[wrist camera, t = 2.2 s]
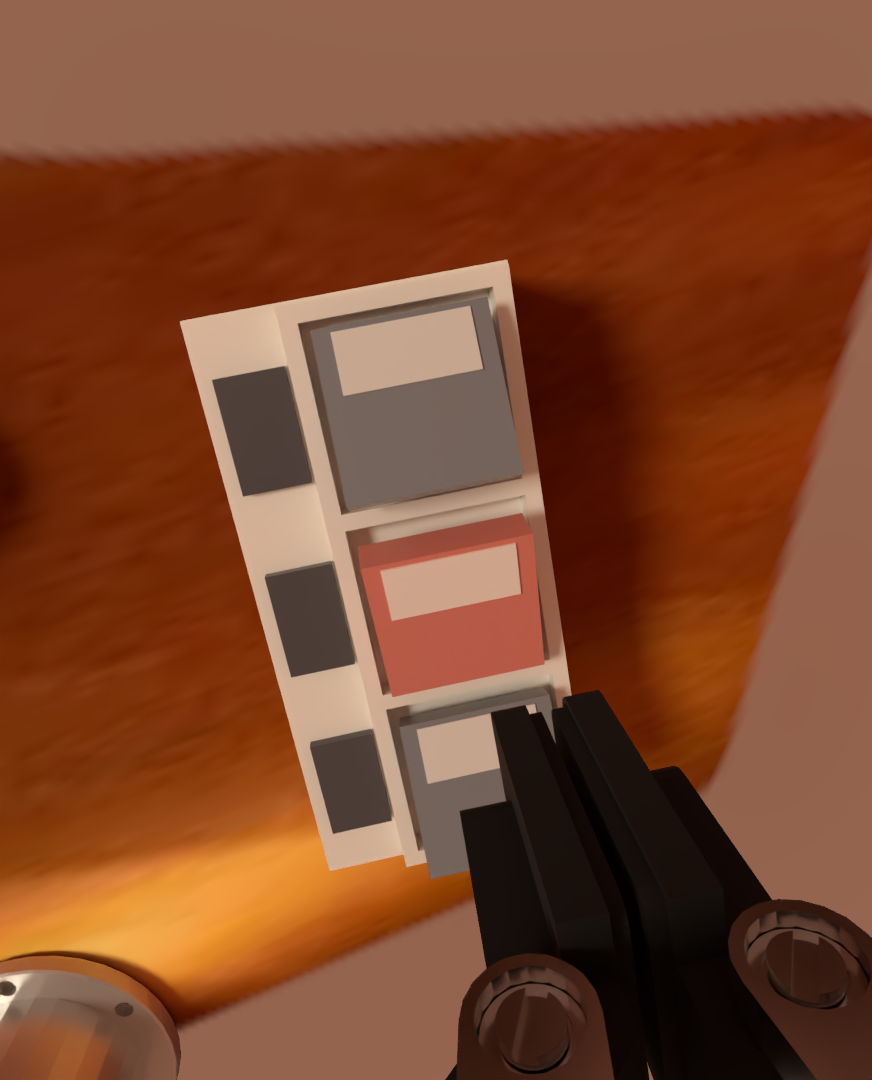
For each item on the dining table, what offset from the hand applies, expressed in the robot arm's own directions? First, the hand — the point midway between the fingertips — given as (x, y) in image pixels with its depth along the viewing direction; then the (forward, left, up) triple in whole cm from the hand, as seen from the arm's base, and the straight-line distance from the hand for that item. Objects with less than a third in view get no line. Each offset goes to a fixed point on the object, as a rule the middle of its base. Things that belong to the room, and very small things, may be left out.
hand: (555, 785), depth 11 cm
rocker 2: (-9, 0, -14) cm, 16 cm away
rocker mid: (-2, 0, -14) cm, 14 cm away
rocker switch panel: (-2, +2, -21) cm, 21 cm away
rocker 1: (+5, 0, -14) cm, 14 cm away
